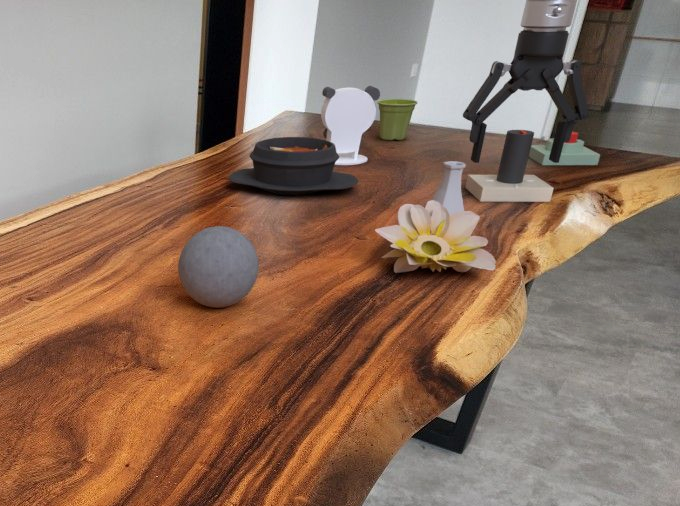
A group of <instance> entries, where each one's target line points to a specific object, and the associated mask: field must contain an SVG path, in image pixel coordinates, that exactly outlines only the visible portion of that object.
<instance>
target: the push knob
mask: <svg viewBox="0 0 680 506" xmlns="http://www.w3.org/2000/svg"><path fill="white" fill-rule="evenodd" d="M578 137H579V132H577V131H572V134H571V138H570V140H569V142H564V143H576V141H577V139H578Z"/></svg>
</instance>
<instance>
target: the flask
mask: <svg viewBox="0 0 680 506" xmlns="http://www.w3.org/2000/svg"><path fill="white" fill-rule="evenodd" d="M442 166H443V174H442V177H441V180H440V182H439V185H438V187H437V189H436V190H435V192H434V194H433V196H432V198H431V200H434V201H437V202H439V203H440V204H441V206H442V207H445V208H446V209H447V211H448V213H449V216H451V215H452V214H454V213H458V212H461V211H465V206H464V200H463V192H462V176H463V170H464V169H465V168H466V166H467V164H466V163H465V162H463V161H462V162H461V161H456V160H454V161H453V160H450V161H443V162H442Z"/></svg>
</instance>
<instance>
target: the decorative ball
mask: <svg viewBox="0 0 680 506" xmlns="http://www.w3.org/2000/svg"><path fill="white" fill-rule="evenodd" d="M258 257H259V256H258V253H257V251H256V248H255V246H254V244H253V243H252V241H250V239H249V238H248V237H247V236H246V235H245V234H244V233H243V232H241V231H240V230H237V229H236V228H233V227H229V226H224V225H215V226H209V227H206V228H203V229H201V230H199V231H198V232H196V233H195V234H194V235H192V236H191V237H190V238H189V239H188V240H187V241H186V243H185V244H184V245H183V247H182V250H181V252H180V255H179V258H178V264H177V265H178V266H177V270H178V272H177V273H178V278H179V282H180V283H181V286H182V288H183V290H184V291H185V292H186V294H187V295H188V296H189V297H190V298H191V299H193V301H195V302H196V303H198V304H200V305H203V306H205V307H209V308H216V309H217V308H219V309H220V308H227V307H230V306H233V305H235V304H237V303H239V302H240V301H242V300H243V299H244V298H245V297H247V296H248V294H249V293H250V292H251V291H252V289H253V287H254V286H255V284H256V282H257V279H258V276H259V275H258V274H259V268H260V267H259V264H260V263H259V258H258Z"/></svg>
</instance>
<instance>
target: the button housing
mask: <svg viewBox="0 0 680 506" xmlns="http://www.w3.org/2000/svg"><path fill="white" fill-rule="evenodd" d="M553 141H554V137H552V138H551V137H550V138H547V139H546V143H545V144H532V145H531V149H530V153H529V157H528V158H530V159H532V160H533V161H535V162H536V163H538V164H539V165H541V166H598V164H599V161H600V157H601V154H600V153H598V152H596V151H594V150H592V149H590V148H588V147H587V146H584V145H585V141H584V140H582V139H578V138H577V141H576V143H564V145H563V148H562V152H561V156H560V160H559V163H554V162H552V161H551V160H549V156H550V152H551V149H552V145H553Z"/></svg>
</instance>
